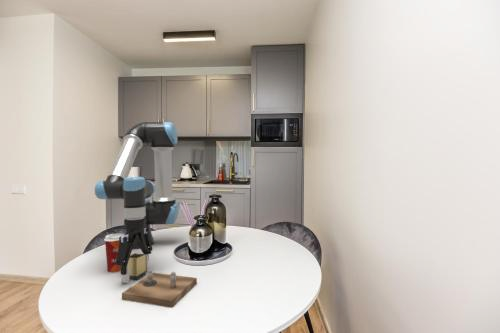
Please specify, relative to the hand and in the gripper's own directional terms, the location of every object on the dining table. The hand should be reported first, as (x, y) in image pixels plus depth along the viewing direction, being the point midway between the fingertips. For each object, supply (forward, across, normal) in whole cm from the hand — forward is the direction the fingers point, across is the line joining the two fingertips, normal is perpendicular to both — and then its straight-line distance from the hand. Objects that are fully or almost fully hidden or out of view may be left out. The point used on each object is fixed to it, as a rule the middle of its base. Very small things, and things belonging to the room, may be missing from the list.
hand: (135, 276), depth 99 cm
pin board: (0, +7, +16) cm, 17 cm away
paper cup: (0, -4, -13) cm, 14 cm away
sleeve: (0, 0, 0) cm, 0 cm away
